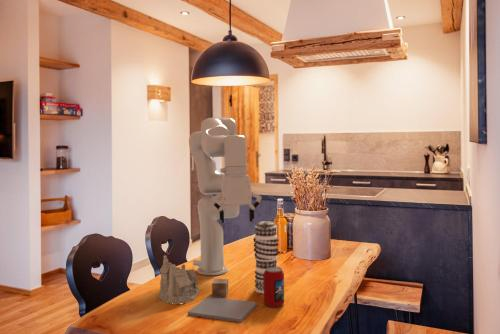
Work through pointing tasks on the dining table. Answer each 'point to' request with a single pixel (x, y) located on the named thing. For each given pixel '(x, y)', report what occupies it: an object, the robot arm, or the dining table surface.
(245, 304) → the slate board
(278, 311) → the dining table surface
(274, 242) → the decorative candle
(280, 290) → the beverage can
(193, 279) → the ceramic cottage
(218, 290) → the walnut block
